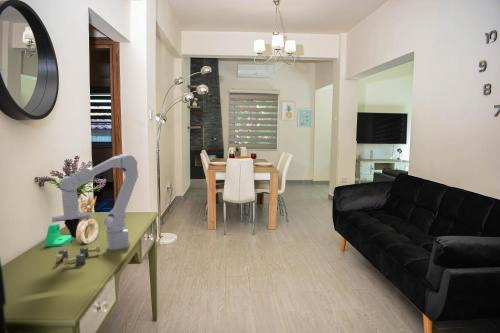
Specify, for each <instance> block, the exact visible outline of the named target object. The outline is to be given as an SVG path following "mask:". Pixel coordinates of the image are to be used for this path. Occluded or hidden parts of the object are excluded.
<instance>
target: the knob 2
mask: <svg viewBox="0 0 500 333" xmlns="http://www.w3.org/2000/svg"><path fill="white" fill-rule="evenodd" d="M62 261H63V265H64V266H67V265H68V264H70V263H71V262H75V261H76V262H77V263H76V265H77V266H83V265H85V264H86V257H85V254H80V253H77V254H76V255H75V257H72V258H68V259H67V258H63V260H62Z"/></svg>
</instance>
